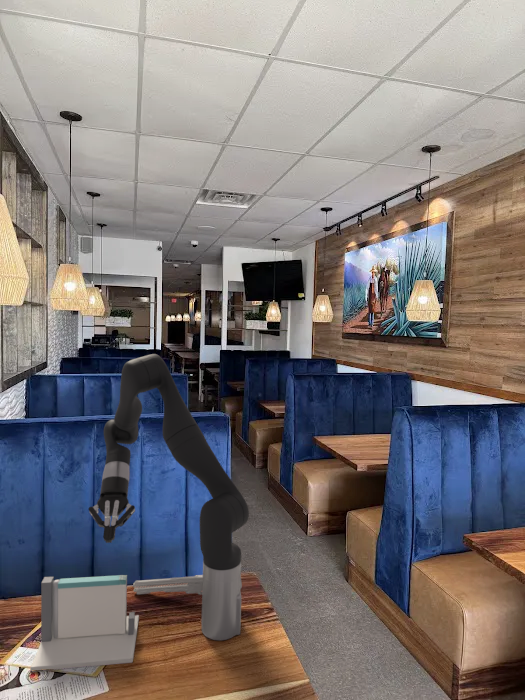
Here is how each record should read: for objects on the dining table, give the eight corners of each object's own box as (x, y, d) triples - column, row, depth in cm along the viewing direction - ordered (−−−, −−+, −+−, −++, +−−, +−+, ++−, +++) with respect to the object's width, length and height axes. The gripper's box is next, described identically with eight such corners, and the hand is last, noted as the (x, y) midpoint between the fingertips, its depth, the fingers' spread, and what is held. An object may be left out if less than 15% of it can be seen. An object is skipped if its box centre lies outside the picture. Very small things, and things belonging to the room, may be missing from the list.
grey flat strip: (242, 603, 124) (238, 574, 124) (135, 609, 128) (131, 582, 128) (244, 598, 126) (239, 570, 125) (138, 605, 130) (134, 578, 130)
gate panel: (126, 627, 112) (126, 574, 112) (125, 633, 110) (126, 579, 110) (54, 633, 110) (54, 579, 109) (52, 639, 108) (52, 583, 107)
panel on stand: (138, 619, 118) (139, 561, 117) (132, 662, 103) (133, 596, 102) (50, 625, 114) (50, 566, 113) (30, 671, 100) (30, 603, 99)
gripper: (90, 475, 133) (80, 537, 121) (138, 474, 135) (133, 535, 124) (93, 487, 138) (84, 547, 127) (139, 486, 141) (134, 545, 129)
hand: (108, 541), depth 125 cm, fingers closed
